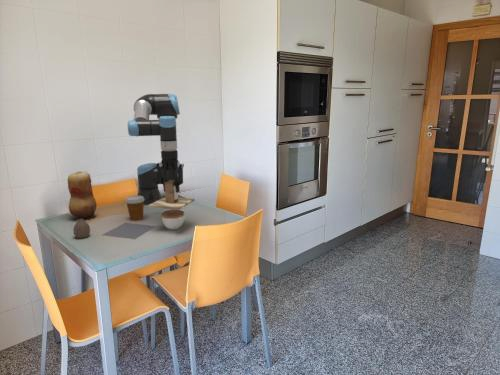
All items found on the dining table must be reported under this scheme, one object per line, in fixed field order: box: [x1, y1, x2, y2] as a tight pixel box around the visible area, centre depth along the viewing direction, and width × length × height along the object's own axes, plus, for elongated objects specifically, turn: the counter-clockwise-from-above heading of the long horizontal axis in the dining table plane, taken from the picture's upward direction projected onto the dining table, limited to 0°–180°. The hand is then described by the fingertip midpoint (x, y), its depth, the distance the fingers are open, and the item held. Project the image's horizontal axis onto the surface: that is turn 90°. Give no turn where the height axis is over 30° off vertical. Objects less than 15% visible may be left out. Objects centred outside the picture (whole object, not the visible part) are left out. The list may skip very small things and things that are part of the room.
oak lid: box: [147, 180, 195, 210], centre depth 172 cm, size 16×16×11 cm
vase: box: [72, 218, 91, 240], centre depth 164 cm, size 7×7×9 cm
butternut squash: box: [67, 170, 98, 219], centre depth 190 cm, size 14×13×25 cm
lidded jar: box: [161, 209, 185, 230], centre depth 175 cm, size 11×11×9 cm
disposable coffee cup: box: [125, 194, 145, 222], centre depth 188 cm, size 10×10×12 cm
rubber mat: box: [102, 222, 157, 240], centre depth 172 cm, size 18×18×1 cm
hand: (172, 198), depth 173 cm, fingers closed on oak lid, 4 cm apart
